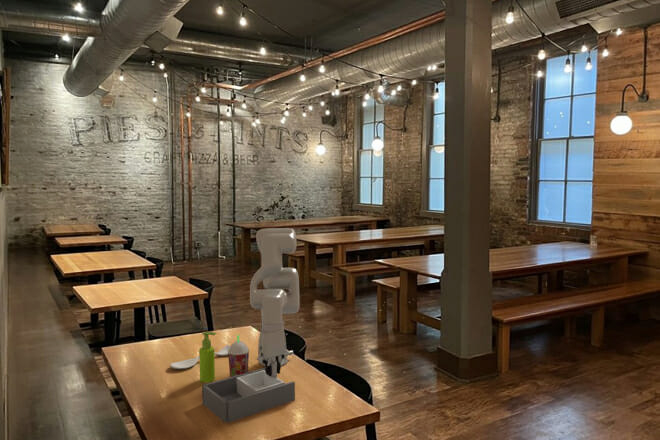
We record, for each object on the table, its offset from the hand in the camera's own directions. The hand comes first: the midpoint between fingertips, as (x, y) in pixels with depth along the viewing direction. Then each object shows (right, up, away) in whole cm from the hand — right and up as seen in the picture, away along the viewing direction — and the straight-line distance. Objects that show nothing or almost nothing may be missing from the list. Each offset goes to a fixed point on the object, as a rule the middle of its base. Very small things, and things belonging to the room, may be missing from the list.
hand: (273, 373), depth 191 cm
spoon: (-35, -6, +36) cm, 50 cm away
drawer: (-4, -7, -3) cm, 9 cm away
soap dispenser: (-28, -7, +14) cm, 32 cm away
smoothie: (-15, -8, +11) cm, 20 cm away
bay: (-8, -9, -6) cm, 13 cm away
